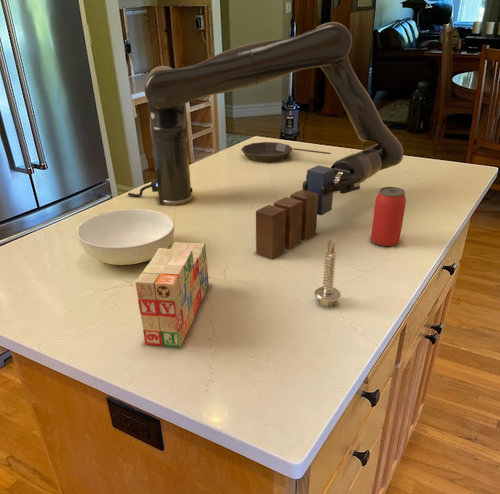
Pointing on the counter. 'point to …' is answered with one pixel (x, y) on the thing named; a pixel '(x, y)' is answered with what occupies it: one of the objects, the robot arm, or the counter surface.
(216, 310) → the counter surface
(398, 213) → the beer can
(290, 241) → the line block
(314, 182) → the block
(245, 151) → the frying pan
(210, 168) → the counter surface
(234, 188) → the counter surface
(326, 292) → the screw
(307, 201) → the line block
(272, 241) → the line block
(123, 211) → the serving bowl
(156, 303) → the stack of blocks
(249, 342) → the counter surface
